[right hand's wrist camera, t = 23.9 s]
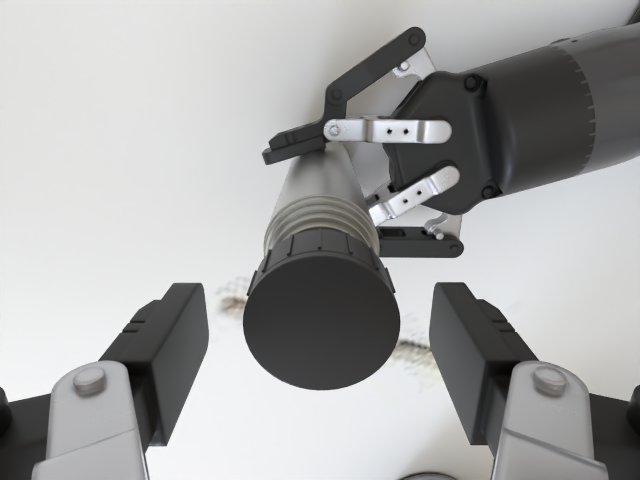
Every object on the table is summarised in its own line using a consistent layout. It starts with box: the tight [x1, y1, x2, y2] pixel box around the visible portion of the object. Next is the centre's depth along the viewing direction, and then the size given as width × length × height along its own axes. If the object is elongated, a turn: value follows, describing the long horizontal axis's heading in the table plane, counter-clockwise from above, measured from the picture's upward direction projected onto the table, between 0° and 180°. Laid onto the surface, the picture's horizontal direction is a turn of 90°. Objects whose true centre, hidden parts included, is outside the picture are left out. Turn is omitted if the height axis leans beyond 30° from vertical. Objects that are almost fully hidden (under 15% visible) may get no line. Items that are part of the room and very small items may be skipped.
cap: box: [243, 228, 400, 390], centre depth 11 cm, size 4×4×2 cm
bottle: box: [264, 141, 379, 258], centre depth 21 cm, size 4×4×22 cm
